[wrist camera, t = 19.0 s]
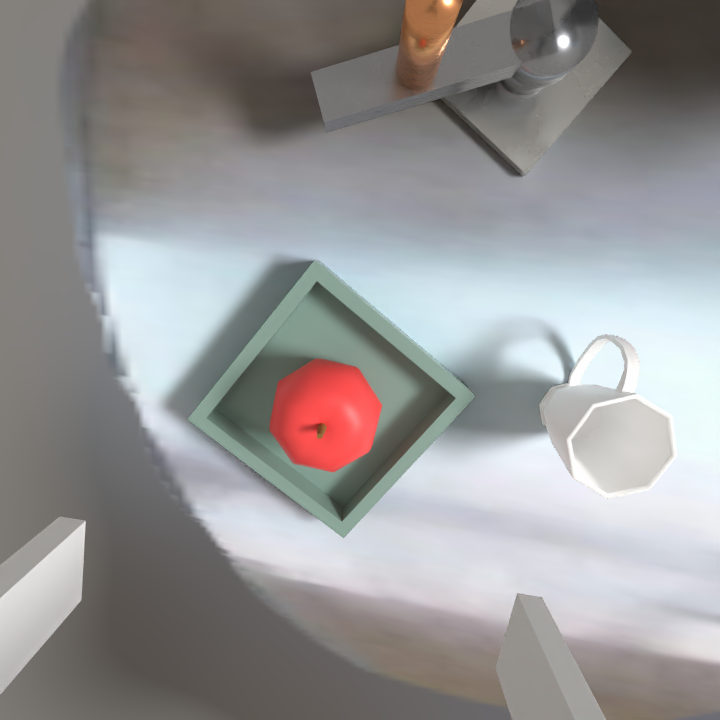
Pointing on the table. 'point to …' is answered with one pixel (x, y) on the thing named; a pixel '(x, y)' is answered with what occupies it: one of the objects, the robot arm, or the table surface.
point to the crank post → (533, 97)
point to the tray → (344, 345)
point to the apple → (325, 415)
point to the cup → (609, 428)
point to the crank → (457, 57)
